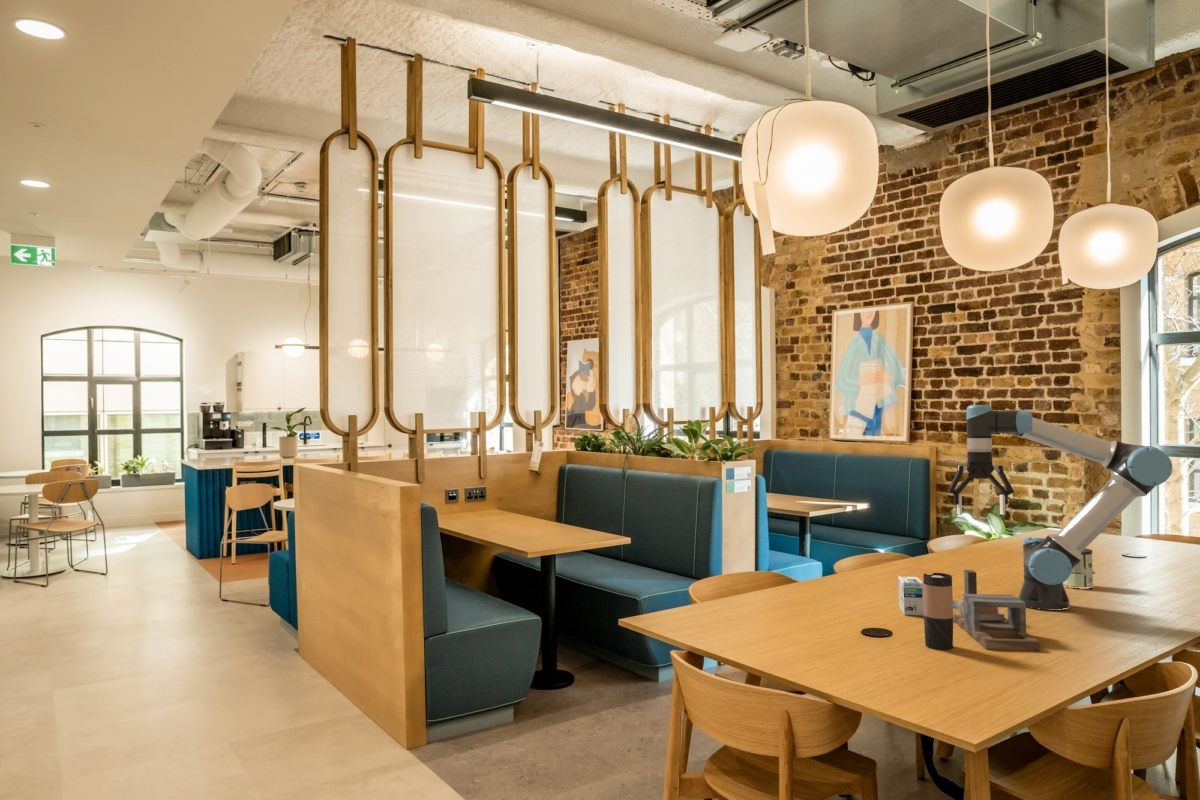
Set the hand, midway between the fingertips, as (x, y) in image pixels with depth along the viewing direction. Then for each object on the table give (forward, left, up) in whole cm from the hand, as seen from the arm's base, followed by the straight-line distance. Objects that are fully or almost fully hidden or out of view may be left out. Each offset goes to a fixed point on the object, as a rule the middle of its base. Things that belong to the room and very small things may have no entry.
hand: (981, 514), depth 263 cm
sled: (+7, +17, -29) cm, 34 cm away
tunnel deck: (+7, +32, -32) cm, 46 cm away
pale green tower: (-46, -40, -32) cm, 69 cm away
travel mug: (+26, +45, -32) cm, 61 cm away
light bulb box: (+24, +5, -32) cm, 40 cm away
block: (+7, +22, -29) cm, 37 cm away
